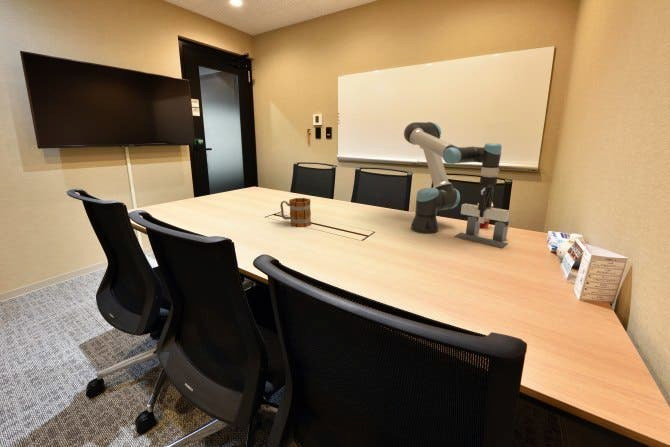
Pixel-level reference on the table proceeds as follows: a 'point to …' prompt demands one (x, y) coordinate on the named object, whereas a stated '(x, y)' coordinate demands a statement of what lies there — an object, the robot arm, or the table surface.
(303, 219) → the mug
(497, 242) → the gray base plate
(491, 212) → the rail
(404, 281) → the table surface
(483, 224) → the coffee cup
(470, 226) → the post
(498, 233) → the post
